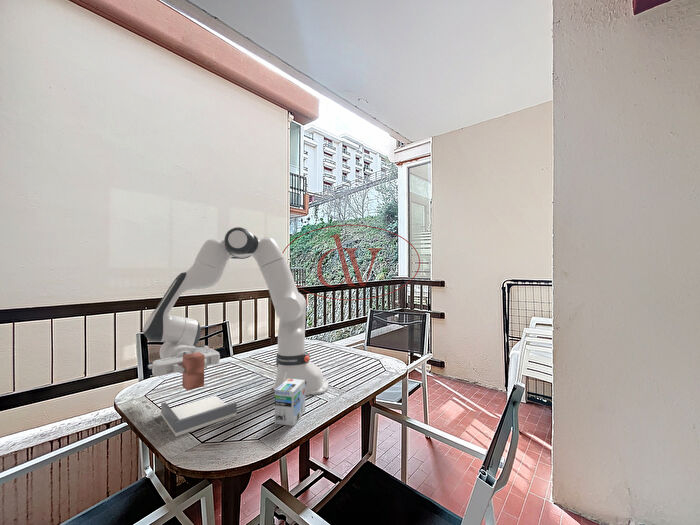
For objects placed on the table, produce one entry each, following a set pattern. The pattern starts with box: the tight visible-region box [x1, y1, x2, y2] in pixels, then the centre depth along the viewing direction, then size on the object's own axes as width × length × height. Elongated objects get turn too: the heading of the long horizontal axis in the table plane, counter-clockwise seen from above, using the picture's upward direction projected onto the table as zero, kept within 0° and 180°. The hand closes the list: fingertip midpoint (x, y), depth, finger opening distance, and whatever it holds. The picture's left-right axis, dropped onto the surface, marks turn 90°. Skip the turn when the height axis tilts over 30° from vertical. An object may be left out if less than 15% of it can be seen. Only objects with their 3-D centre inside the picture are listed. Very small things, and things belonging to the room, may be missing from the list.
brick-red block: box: [181, 352, 205, 391], centre depth 96 cm, size 5×5×10 cm
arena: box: [160, 395, 238, 437], centre depth 100 cm, size 18×18×4 cm
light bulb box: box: [274, 379, 306, 427], centre depth 98 cm, size 11×7×11 cm, turn 168°
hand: (194, 368), depth 96 cm, fingers closed on brick-red block, 5 cm apart
